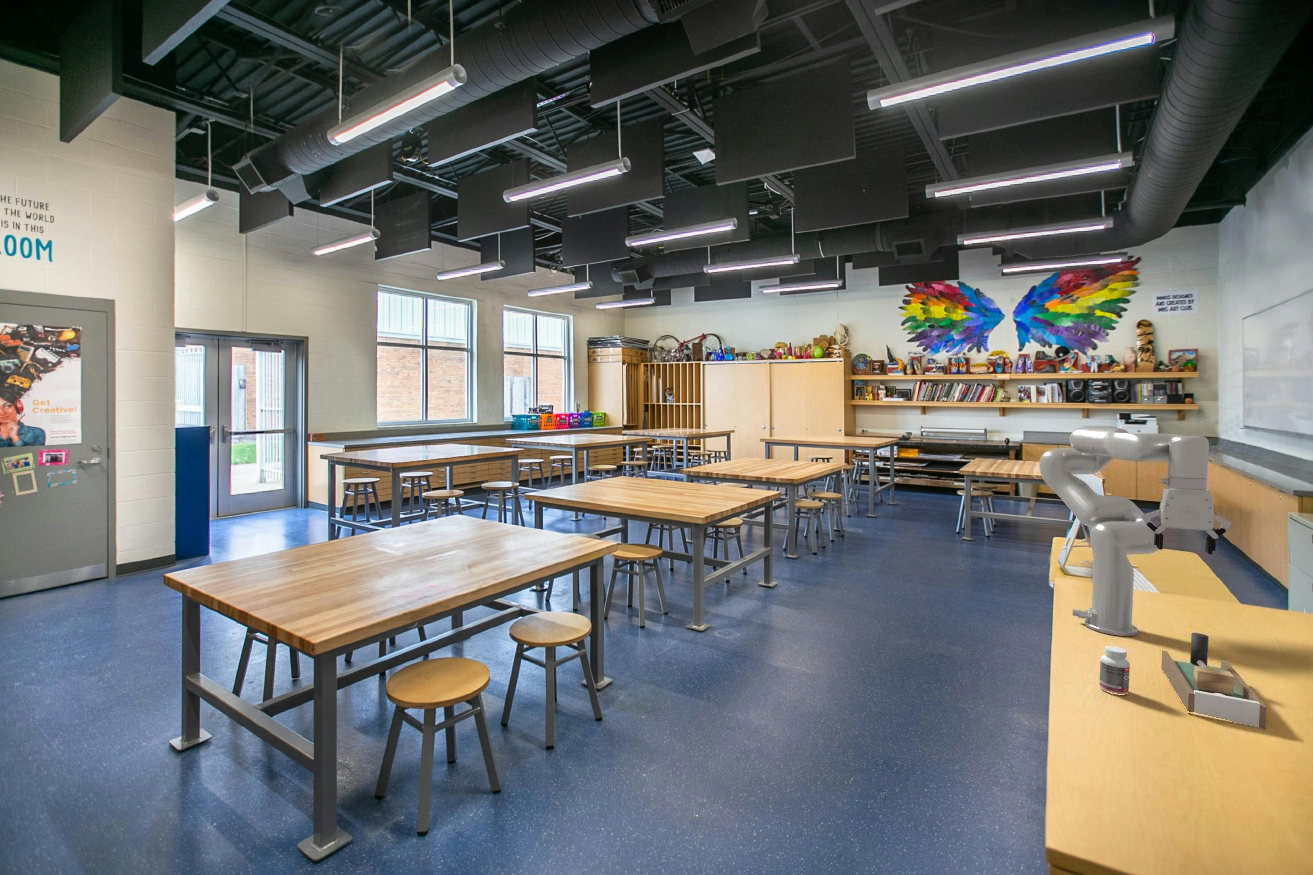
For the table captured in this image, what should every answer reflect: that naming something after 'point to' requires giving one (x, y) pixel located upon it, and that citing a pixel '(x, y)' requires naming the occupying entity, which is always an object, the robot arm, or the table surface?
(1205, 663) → the striker
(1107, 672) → the pill bottle
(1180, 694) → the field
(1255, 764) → the table surface
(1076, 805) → the table surface
